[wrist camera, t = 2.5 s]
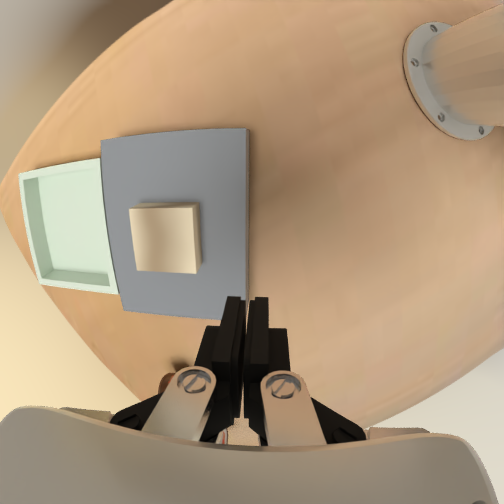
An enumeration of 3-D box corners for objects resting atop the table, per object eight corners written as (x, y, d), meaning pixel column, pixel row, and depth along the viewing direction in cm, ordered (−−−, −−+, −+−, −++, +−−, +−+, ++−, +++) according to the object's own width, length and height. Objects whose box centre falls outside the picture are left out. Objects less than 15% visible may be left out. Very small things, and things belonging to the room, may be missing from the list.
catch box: (116, 155, 23) (99, 158, 20) (131, 280, 28) (118, 294, 25) (35, 169, 24) (18, 173, 21) (53, 273, 29) (39, 284, 26)
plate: (249, 130, 22) (245, 128, 19) (248, 300, 28) (245, 321, 25) (120, 139, 23) (100, 140, 19) (137, 293, 29) (123, 310, 25)
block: (199, 202, 21) (192, 207, 19) (202, 263, 23) (196, 273, 21) (140, 203, 21) (128, 208, 19) (146, 260, 23) (136, 270, 21)
